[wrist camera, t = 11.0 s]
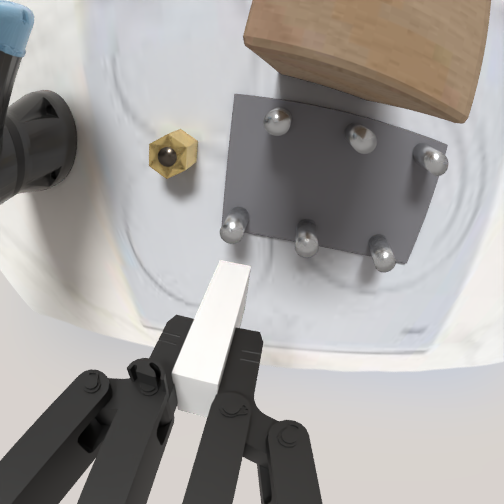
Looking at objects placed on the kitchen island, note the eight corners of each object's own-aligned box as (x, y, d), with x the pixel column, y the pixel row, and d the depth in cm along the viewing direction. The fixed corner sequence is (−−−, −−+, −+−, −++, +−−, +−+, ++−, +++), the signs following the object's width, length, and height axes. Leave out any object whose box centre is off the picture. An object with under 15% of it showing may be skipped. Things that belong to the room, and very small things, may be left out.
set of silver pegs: (228, 223, 35) (219, 241, 32) (241, 102, 28) (231, 104, 24) (396, 255, 34) (406, 276, 30) (433, 146, 26) (450, 156, 23)
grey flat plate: (222, 226, 36) (221, 228, 36) (235, 93, 28) (234, 93, 27) (405, 261, 35) (406, 263, 34) (446, 144, 26) (447, 145, 26)
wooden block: (370, 101, 26) (468, 129, 9) (277, 73, 26) (237, 46, 9) (391, 22, 20) (495, -36, 4) (298, -8, 21) (289, -118, 4)
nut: (154, 152, 32) (140, 159, 29) (172, 122, 30) (158, 127, 27) (186, 175, 34) (175, 185, 31) (206, 147, 31) (196, 154, 28)
